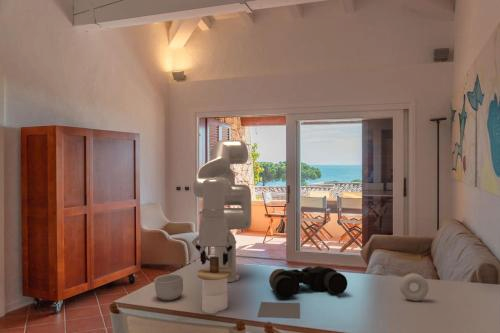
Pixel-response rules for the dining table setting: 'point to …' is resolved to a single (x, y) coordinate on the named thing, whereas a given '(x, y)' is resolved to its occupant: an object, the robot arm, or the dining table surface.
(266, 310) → the rubber mat
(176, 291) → the teacup
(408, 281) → the donut
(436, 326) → the dining table surface
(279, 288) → the binoculars
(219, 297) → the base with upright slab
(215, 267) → the oak lid
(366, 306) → the dining table surface
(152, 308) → the dining table surface
